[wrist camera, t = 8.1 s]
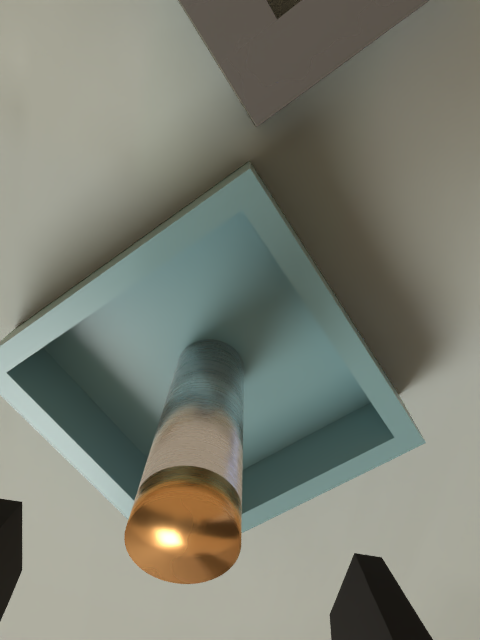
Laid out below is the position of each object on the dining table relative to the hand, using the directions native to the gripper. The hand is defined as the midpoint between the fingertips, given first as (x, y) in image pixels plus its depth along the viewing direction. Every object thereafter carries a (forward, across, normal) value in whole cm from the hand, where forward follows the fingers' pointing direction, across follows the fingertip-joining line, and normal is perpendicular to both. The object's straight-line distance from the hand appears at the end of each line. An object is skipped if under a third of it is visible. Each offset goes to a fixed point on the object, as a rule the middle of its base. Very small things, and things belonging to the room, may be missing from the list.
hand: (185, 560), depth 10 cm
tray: (+9, 0, 0) cm, 9 cm away
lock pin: (+8, 0, 0) cm, 8 cm away
